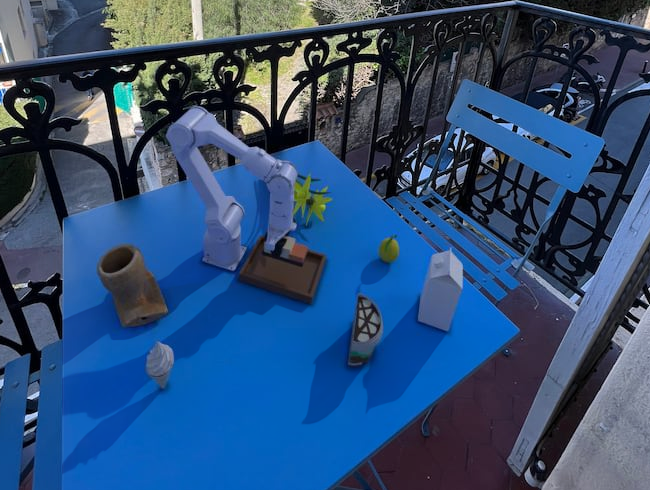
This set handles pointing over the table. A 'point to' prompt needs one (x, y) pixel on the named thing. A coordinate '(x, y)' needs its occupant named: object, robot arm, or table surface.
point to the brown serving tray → (283, 273)
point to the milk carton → (441, 290)
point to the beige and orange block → (290, 252)
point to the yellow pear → (389, 249)
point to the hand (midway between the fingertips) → (279, 249)
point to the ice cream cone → (160, 363)
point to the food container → (364, 331)
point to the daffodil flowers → (309, 198)
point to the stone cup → (131, 286)
